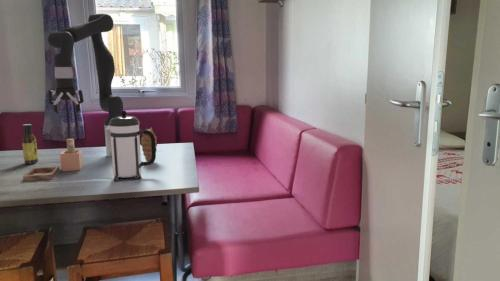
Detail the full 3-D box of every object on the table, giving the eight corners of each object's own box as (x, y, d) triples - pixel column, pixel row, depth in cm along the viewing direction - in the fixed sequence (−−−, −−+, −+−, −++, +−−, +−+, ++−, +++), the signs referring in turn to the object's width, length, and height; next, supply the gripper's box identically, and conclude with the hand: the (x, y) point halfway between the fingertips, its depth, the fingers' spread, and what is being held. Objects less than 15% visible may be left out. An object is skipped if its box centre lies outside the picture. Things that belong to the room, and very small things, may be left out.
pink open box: (83, 167, 184) (81, 149, 183) (80, 171, 177) (78, 153, 175) (65, 168, 182) (64, 150, 181) (61, 173, 175) (60, 154, 173)
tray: (60, 172, 176) (59, 166, 175) (52, 181, 162) (51, 174, 162) (33, 174, 173) (33, 167, 172) (23, 183, 160) (22, 176, 159)
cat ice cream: (151, 165, 189) (150, 129, 186) (138, 163, 192) (136, 128, 188) (161, 161, 197) (159, 127, 194) (148, 159, 200) (146, 126, 196)
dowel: (77, 167, 181) (74, 138, 179) (75, 168, 178) (73, 139, 176) (69, 167, 181) (67, 138, 178) (68, 169, 177) (65, 140, 175)
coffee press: (127, 184, 157) (122, 113, 152) (102, 178, 166) (97, 111, 160) (157, 175, 172) (154, 109, 166) (133, 170, 180) (130, 107, 174)
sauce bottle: (39, 163, 192) (34, 124, 188) (24, 165, 189) (20, 125, 185) (37, 160, 197) (33, 123, 194) (24, 162, 194) (19, 124, 190)
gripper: (82, 77, 176) (85, 111, 180) (49, 77, 173) (52, 112, 176) (79, 77, 169) (82, 113, 172) (44, 77, 166) (48, 114, 169)
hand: (67, 112), depth 174 cm, fingers open, 8 cm apart
